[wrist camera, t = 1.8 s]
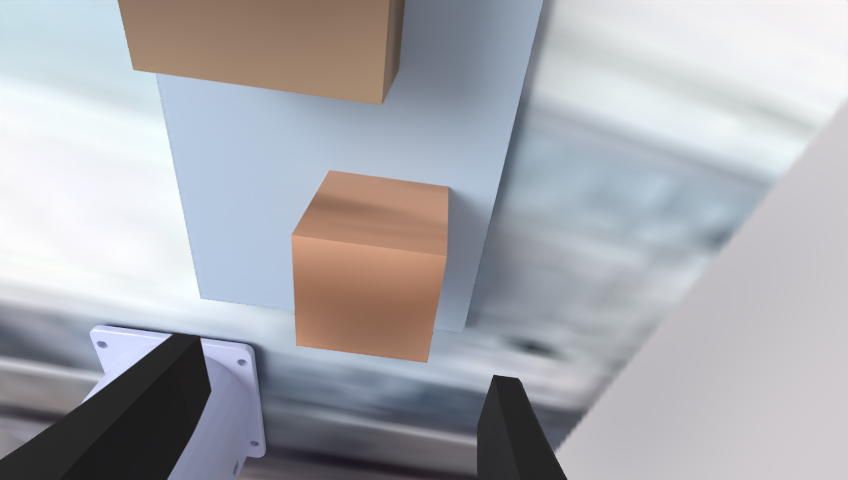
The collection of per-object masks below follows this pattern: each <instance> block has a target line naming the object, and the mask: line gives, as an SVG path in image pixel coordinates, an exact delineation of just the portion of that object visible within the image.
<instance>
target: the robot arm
mask: <svg viewBox="0 0 848 480" xmlns="http://www.w3.org/2000/svg"><path fill="white" fill-rule="evenodd" d="M90 337H91V339H92V342H93V344H94V346H95V349H96V351H97V354H98V356H99V359H100V361H101V364H102V366H103V369H104V371H105V375H104V377H103V378H102V379H101V380H100V381H99V383H98V384H97V385H96V386H95V387H94V389H93V390H92V391H91V392H90V393H89V395H88V396H87V397H86V398H85V399H84V400H83V402H82V403H81V404H80V405H79V406H78V407H77V408H75V409H74V410H73V411H71V412H70V413H68V414H67V415H65V416H64V417H63V418H61V419H60V420H58V421H57V422H55V423H54V424H53V425H51V426H50V427H48V428H47V429H45V430H44V431H43V432H41V433H40V434H38V435H37V436H35V437H34V438H33V439H31V440H30V441H28V442H27V443H25V444H24V445H22V446H21V447H19V448H18V449H16V450H15V451H13V452H12V453H10V454H9V455H7V456H5V457H4V458H2V459H1V460H0V480H237V479H238V476H239V474H240V472H241V469H242V467H243V464H244V462H245V460H246V457H247V456H248V457H256V458H259V457H263V456H264V454H265V451H266V443H265V435H264V427H263V419H262V410H261V402H260V394H259V386H258V378H257V370H256V362H255V353H254V350H253V348H252V347H251V346H249V345H247V344H242V343H234V342H227V341H219V340H211V339H204V338H200V336H195V335H187V334H180V333H174V334H165V333H158V332H150V331H142V330H135V329H127V328H119V327H112V326H104V325H98V326H95V327H94V328H93V329H92V330H91V332H90ZM477 471H478V480H567V478H566V476H565V474H564V472H563V470H562V468H561V466H560V464H559V462H558V461H557V459H556V457H555V455H554V453H553V451H552V449H551V447H550V445H549V443H548V441H547V439H546V437H545V435H544V433H543V431H542V428H541V426H540V424H539V422H538V420H537V418H536V415H535V413H534V411H533V409H532V407H531V404H530V402H529V400H528V397H527V395H526V392H525V390H524V388H523V385H522V383H521V381H520V380H519V379H518V378H513V377H505V376H498V375H493V378H492V381H491V385H490V388H489V391H488V394H487V397H486V400H485V403H484V407H483V410H482V413H481V416H480V419H479V422H478V427H477Z"/></svg>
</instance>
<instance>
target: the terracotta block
mask: <svg viewBox="0 0 848 480" xmlns="http://www.w3.org/2000/svg"><path fill="white" fill-rule="evenodd" d="M447 237H448V186H441V185H434V184H426V183H419V182H412V181H405V180H398V179H391V178H383V177H376V176H369V175H362V174H355V173H347V172H340V171H333V170H329V172H328V173H327V175H326V177H325V178H324V180H323V182H322V184H321V185H320V187H319V189H318V190H317V192H316V194H315V195H314V197H313V199H312V201H311V202H310V204H309V206H308V207H307V209H306V211H305V212H304V214H303V216H302V218H301V219H300V221H299V223H298V224H297V226H296V228H295V229H294V231H293V233H292V234H291V242H292V263H293V284H294V306H295V327H296V346H304V347H311V348H319V349H327V350H334V351H342V352H350V353H357V354H365V355H372V356H380V357H388V358H395V359H403V360H411V361H418V362H426V363H427V360H428V355H429V349H430V344H431V339H432V334H433V328H434V323H435V318H436V312H437V307H438V302H439V297H440V291H441V286H442V281H443V275H444V270H445V265H446V260H447Z"/></svg>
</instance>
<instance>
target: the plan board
mask: <svg viewBox="0 0 848 480" xmlns="http://www.w3.org/2000/svg"><path fill="white" fill-rule="evenodd" d="M542 4H543V0H405V8H404V19H403V30H402V41H401V52H400V63H399V71H398V73H397V75H396V77H395V79H394V81H393V83H392V85H391V87H390V89H389V91H388V94H387V96H386V98H385V100H384V102H383V104H382V105H376V104H369V103H362V102H355V101H348V100H341V99H334V98H327V97H320V96H313V95H306V94H299V93H292V92H285V91H278V90H271V89H264V88H257V87H250V86H243V85H236V84H229V83H222V82H215V81H208V80H201V79H194V78H187V77H180V76H173V75H166V74H159V73H156V78H157V83H158V88H159V93H160V98H161V103H162V108H163V113H164V118H165V123H166V128H167V133H168V138H169V143H170V148H171V153H172V158H173V163H174V168H175V173H176V178H177V183H178V188H179V193H180V198H181V203H182V208H183V213H184V218H185V223H186V228H187V233H188V238H189V243H190V248H191V253H192V258H193V263H194V268H195V273H196V278H197V283H198V288H199V293H200V298H201V299H208V300H216V301H223V302H231V303H238V304H246V305H254V306H261V307H269V308H276V309H284V310H291V311H295V306H294V284H293V263H292V242H291V234H292V233H293V231H294V229H295V228H296V226H297V224H298V223H299V221H300V219H301V218H302V216H303V214H304V212H305V211H306V209H307V207H308V206H309V204H310V202H311V201H312V199H313V197H314V195H315V194H316V192H317V190H318V189H319V187H320V185H321V184H322V182H323V180H324V178H325V177H326V175H327V173H328V172H329V170H333V171H340V172H347V173H355V174H362V175H369V176H376V177H383V178H391V179H398V180H405V181H412V182H419V183H426V184H434V185H441V186H448V237H447V260H446V265H445V270H444V275H443V281H442V286H441V291H440V297H439V302H438V307H437V312H436V318H435V323H434V328H433V329H435V330H443V331H450V332H458V333H463V331H464V327H465V323H466V319H467V314H468V310H469V306H470V302H471V298H472V294H473V290H474V286H475V281H476V277H477V273H478V269H479V265H480V261H481V257H482V252H483V248H484V244H485V240H486V236H487V232H488V228H489V223H490V219H491V215H492V211H493V207H494V203H495V199H496V194H497V190H498V186H499V182H500V178H501V174H502V170H503V166H504V161H505V157H506V153H507V149H508V145H509V141H510V137H511V132H512V128H513V124H514V120H515V116H516V112H517V108H518V103H519V99H520V95H521V91H522V87H523V83H524V79H525V74H526V70H527V66H528V62H529V58H530V54H531V50H532V46H533V41H534V37H535V33H536V29H537V25H538V21H539V17H540V12H541V8H542Z"/></svg>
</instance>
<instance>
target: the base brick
mask: <svg viewBox="0 0 848 480" xmlns="http://www.w3.org/2000/svg"><path fill="white" fill-rule="evenodd" d="M118 4H119V8H120V12H121V17H122V21H123V26H124V30H125V35H126V39H127V43H128V48H129V52H130V57H131V61H132V66H133V70H138V71H145V72H152V73H159V74H166V75H173V76H180V77H187V78H194V79H201V80H208V81H215V82H222V83H229V84H236V85H243V86H250V87H257V88H264V89H271V90H278V91H285V92H292V93H299V94H306V95H313V96H320V97H327V98H334V99H341V100H348V101H355V102H362V103H369V104H376V105H382V104H383V102H384V100H385V98H386V96H387V94H388V91H389V89H390V87H391V85H392V83H393V81H394V79H395V77H396V75H397V73H398V71H399V63H400V52H401V41H402V30H403V19H404V8H405V0H118Z"/></svg>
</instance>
